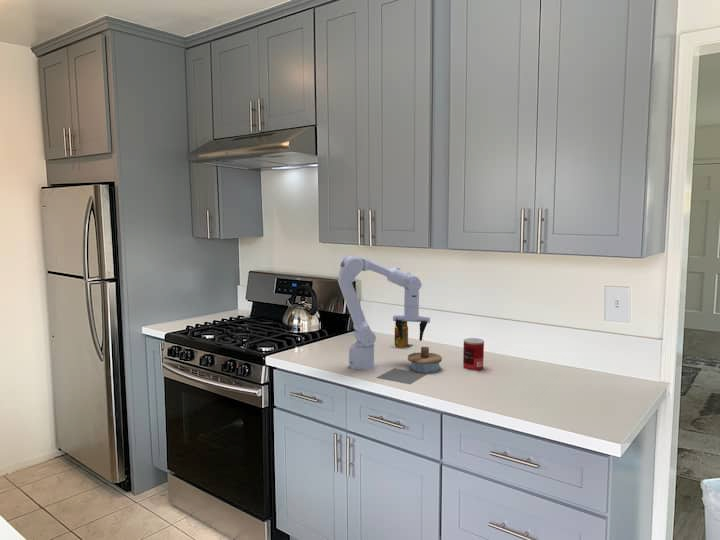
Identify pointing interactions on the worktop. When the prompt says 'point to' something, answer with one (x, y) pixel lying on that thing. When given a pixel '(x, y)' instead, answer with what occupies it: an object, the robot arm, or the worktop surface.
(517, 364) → the worktop surface
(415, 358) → the lid
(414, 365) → the bowl
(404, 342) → the condiment
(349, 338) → the worktop surface
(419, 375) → the mat
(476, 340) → the canned food
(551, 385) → the worktop surface
